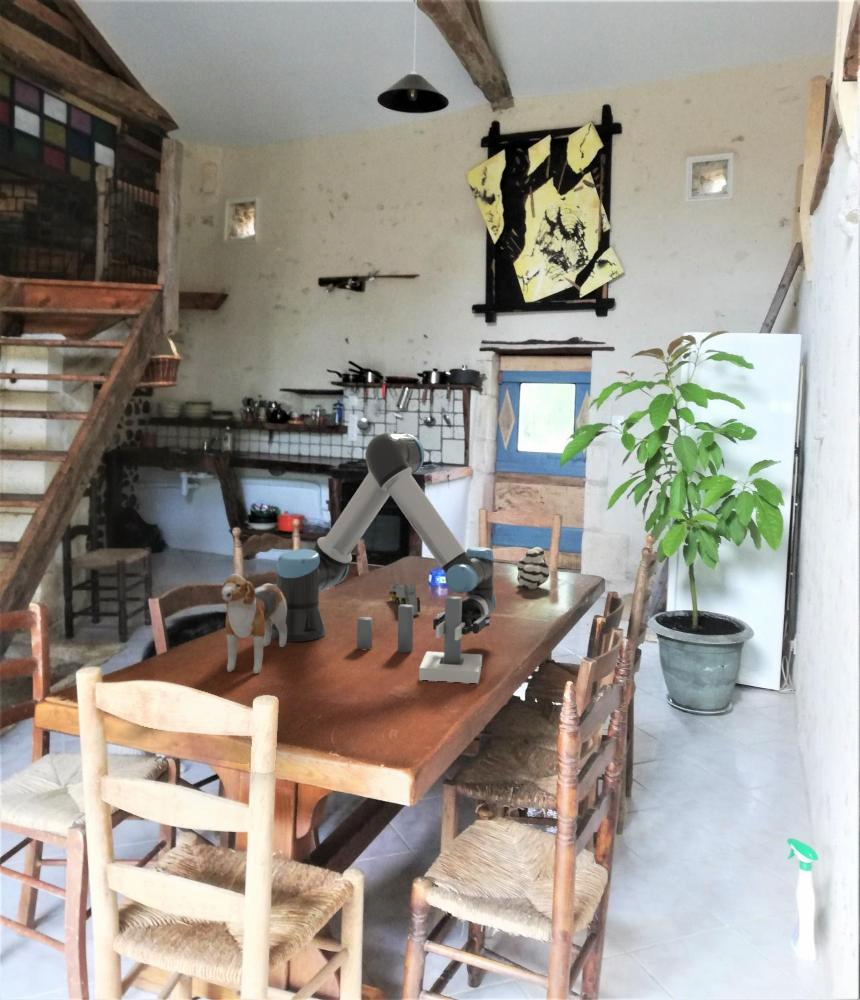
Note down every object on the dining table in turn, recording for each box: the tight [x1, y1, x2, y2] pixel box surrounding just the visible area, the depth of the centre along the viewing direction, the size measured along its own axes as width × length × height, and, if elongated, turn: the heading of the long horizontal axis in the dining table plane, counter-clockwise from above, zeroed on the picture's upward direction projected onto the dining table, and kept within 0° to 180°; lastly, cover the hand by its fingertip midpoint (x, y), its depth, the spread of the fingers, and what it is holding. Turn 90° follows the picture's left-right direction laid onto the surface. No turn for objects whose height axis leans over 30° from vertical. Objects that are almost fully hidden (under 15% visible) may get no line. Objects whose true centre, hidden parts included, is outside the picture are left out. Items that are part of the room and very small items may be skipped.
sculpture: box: [516, 546, 550, 590], centre depth 299 cm, size 22×12×15 cm, turn 166°
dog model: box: [220, 573, 288, 675], centre depth 200 cm, size 10×41×25 cm, turn 172°
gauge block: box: [418, 650, 483, 685], centre depth 196 cm, size 14×14×3 cm
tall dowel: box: [443, 595, 463, 665], centre depth 195 cm, size 4×4×16 cm
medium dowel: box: [397, 604, 414, 653], centre depth 214 cm, size 4×4×12 cm
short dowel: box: [356, 616, 373, 650], centre depth 215 cm, size 4×4×8 cm
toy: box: [389, 582, 421, 616], centre depth 264 cm, size 6×24×10 cm, turn 15°
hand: (446, 633), depth 190 cm, fingers closed on tall dowel, 4 cm apart
